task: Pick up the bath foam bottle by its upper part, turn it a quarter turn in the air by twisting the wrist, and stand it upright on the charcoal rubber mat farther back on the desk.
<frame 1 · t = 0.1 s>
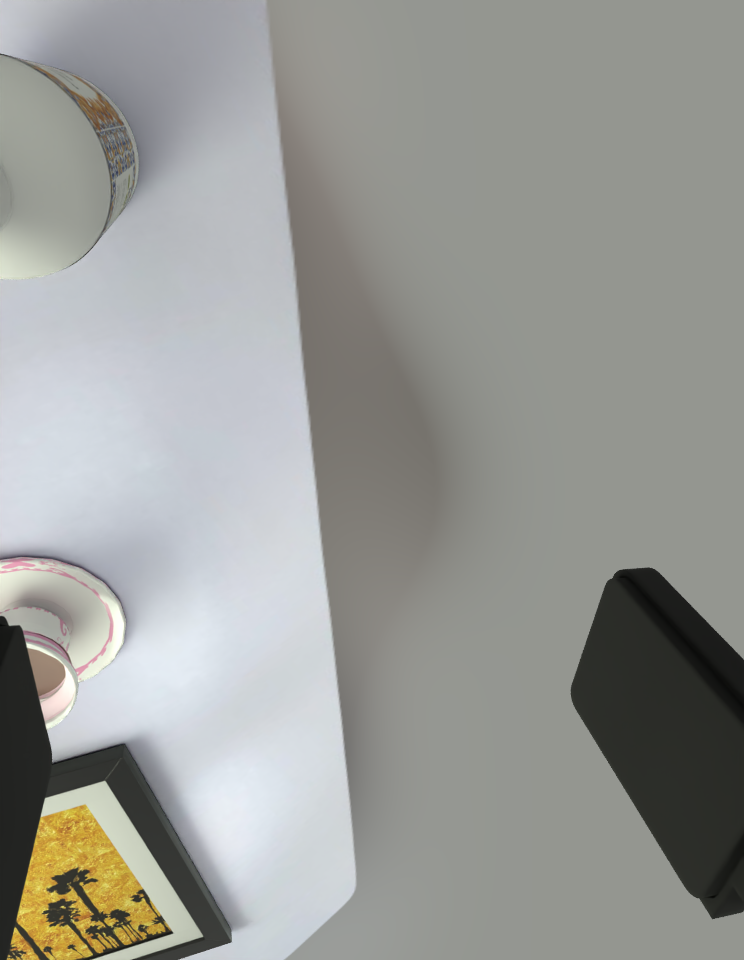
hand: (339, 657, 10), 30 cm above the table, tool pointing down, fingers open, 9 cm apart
teacup: (36, 621, 45), on the table
bath foam: (66, 152, 31), on the table
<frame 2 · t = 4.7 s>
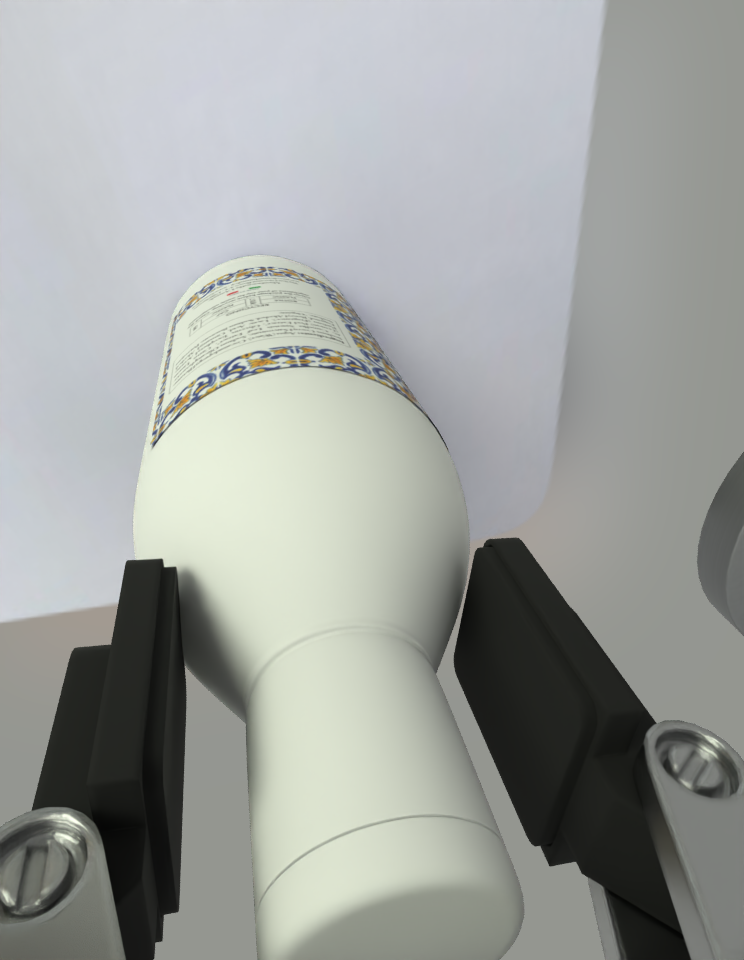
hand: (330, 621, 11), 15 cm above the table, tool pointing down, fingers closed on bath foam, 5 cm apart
bath foam: (265, 347, 24), on the table, touching gripper
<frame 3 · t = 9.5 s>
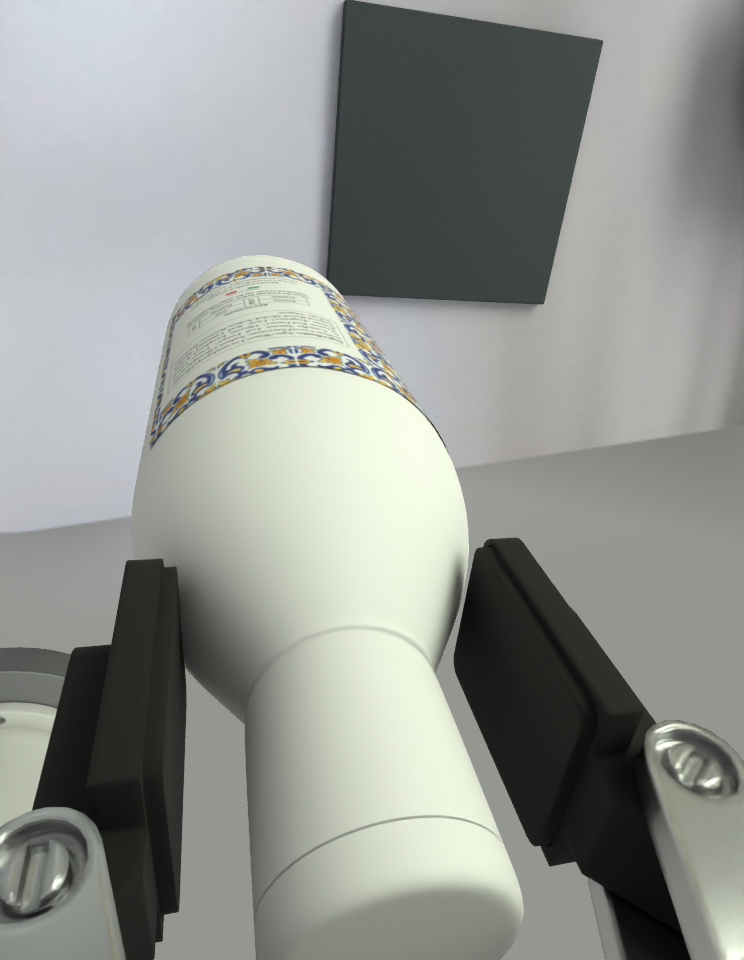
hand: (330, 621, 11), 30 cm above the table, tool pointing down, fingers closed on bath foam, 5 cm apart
mat: (455, 172, 36), on the table
bath foam: (263, 347, 24), point 15 cm above the table, touching gripper
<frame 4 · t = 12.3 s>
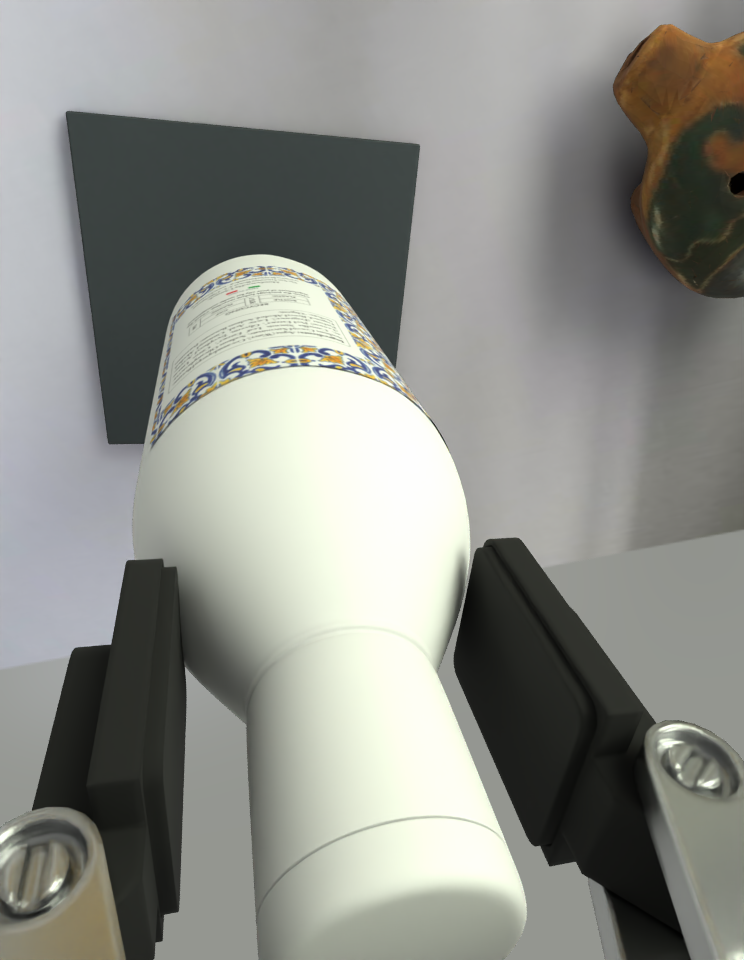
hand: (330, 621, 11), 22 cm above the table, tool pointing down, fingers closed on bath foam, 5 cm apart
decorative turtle: (689, 169, 31), on the table
mat: (253, 300, 29), on the table
bath foam: (264, 347, 24), point 7 cm above the table, touching gripper
when the fingers open (15 cm above the table, at t = 14.2 s): bath foam stays where it is, resting on mat.
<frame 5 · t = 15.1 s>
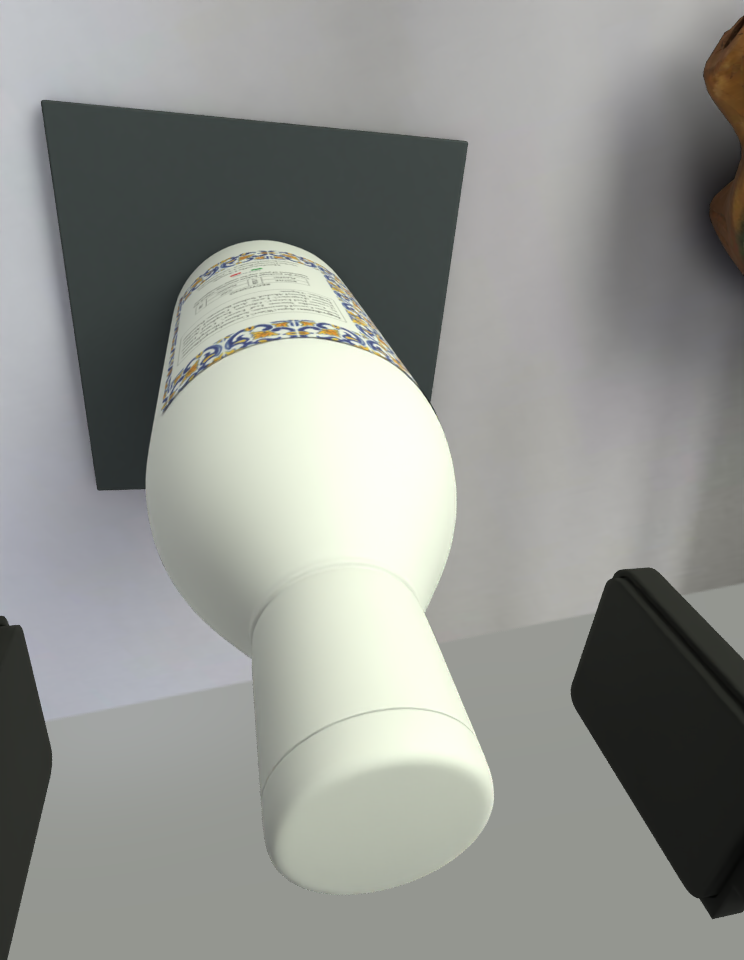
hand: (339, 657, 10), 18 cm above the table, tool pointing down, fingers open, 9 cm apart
mat: (267, 325, 25), on the table
bath foam: (266, 329, 25), resting on mat
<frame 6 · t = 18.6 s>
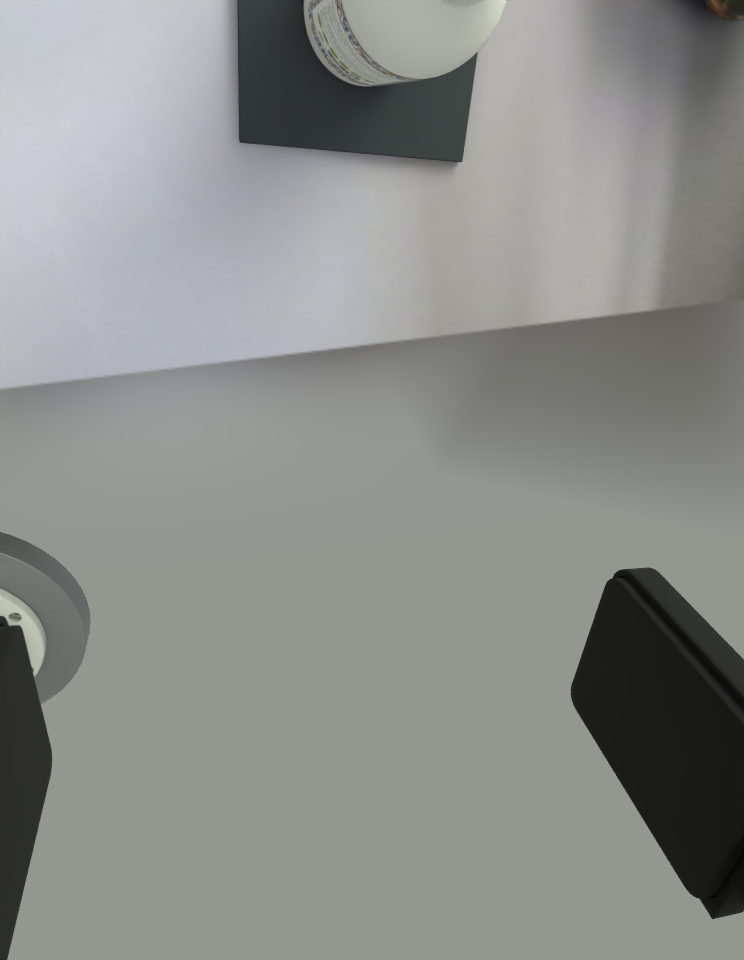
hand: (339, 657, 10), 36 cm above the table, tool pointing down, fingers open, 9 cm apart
mat: (362, 14, 36), on the table
bath foam: (362, 14, 36), resting on mat
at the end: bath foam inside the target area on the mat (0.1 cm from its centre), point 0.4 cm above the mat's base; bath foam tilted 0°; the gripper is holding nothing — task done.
